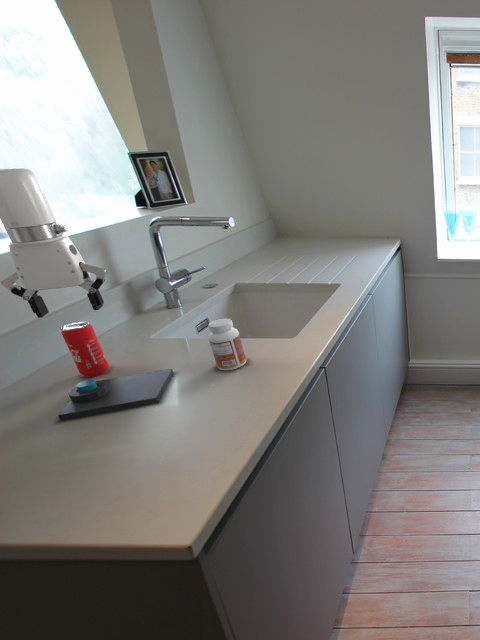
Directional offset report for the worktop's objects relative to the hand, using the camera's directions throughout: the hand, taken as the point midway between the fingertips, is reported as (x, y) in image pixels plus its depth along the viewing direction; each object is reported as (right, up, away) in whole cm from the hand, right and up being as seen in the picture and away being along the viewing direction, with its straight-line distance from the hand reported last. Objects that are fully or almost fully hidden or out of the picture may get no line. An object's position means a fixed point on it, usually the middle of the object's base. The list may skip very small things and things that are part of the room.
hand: (71, 311), depth 96 cm
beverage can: (0, -14, +6) cm, 15 cm away
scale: (+13, -18, -3) cm, 22 cm away
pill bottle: (+30, -12, +9) cm, 33 cm away
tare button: (+9, -16, -6) cm, 19 cm away
